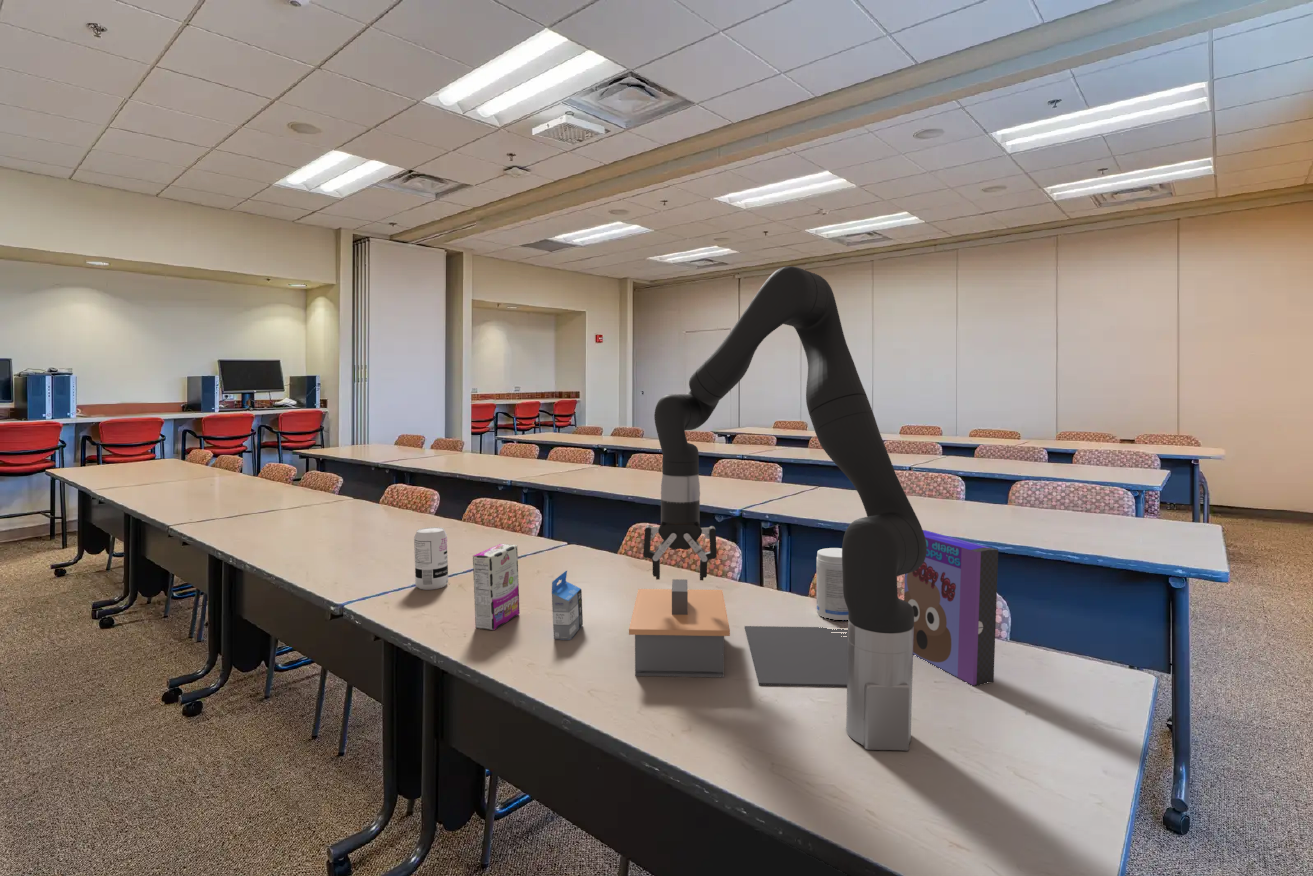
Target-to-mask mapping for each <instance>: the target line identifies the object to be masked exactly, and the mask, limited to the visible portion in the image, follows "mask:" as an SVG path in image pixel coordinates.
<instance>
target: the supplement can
mask: <svg viewBox="0 0 1313 876" xmlns="http://www.w3.org/2000/svg"><path fill="white" fill-rule="evenodd" d="M413 544H414V573H415V574H414V576H415V577H414V579H415V581H414V582H415V584H414V585H415V587H417V588H418V589H419V590H424V591H429V590H430V591H431V590H438V589H442V588H444V587H446V586H447V584H448V583H449V563H448V562H449V561H448V556H449V555H448V534H447V532H446V530H445V528H444V527H435V526H434V527H422V528H420V529H419V528H418V530H416V532H415V535H414V537H413Z"/></svg>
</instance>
